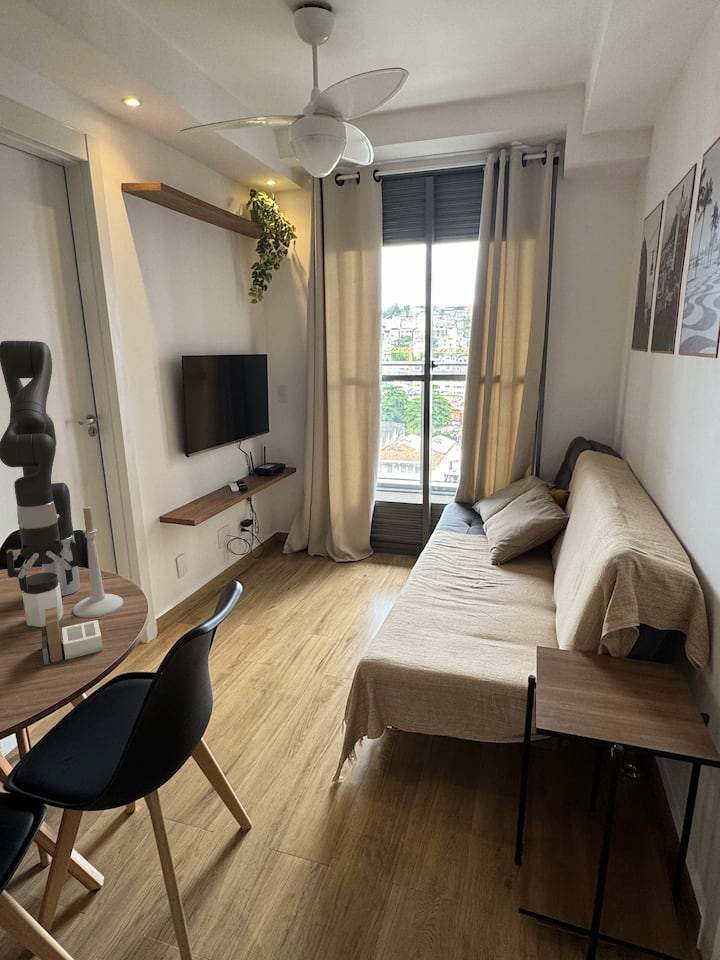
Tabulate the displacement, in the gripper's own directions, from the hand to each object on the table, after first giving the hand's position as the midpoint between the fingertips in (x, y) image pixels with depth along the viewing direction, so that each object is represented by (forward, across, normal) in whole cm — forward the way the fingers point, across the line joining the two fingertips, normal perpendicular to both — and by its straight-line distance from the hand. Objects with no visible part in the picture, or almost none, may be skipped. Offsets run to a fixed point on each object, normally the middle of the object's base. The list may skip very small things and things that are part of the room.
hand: (47, 587), depth 124 cm
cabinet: (+17, -4, 0) cm, 17 cm away
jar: (+18, +2, -20) cm, 26 cm away
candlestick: (+18, -11, -21) cm, 29 cm away
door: (+17, 0, 0) cm, 17 cm away
